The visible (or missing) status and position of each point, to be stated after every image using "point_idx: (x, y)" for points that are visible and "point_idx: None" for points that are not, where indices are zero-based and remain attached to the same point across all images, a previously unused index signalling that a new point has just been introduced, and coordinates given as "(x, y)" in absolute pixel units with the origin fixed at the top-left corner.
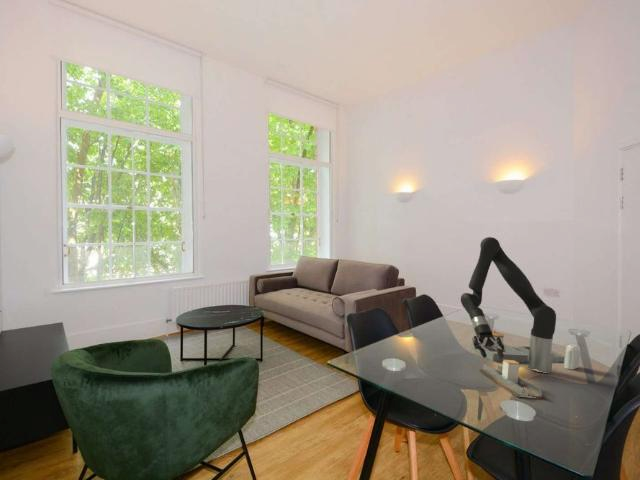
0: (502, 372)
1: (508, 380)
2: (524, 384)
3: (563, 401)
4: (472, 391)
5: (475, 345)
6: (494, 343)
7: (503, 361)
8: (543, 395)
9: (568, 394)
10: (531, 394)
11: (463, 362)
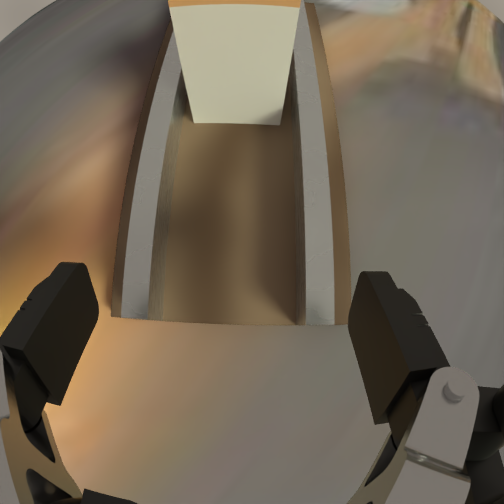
0: (285, 86)
1: (307, 29)
2: None
3: (114, 12)
4: (477, 78)
5: (494, 474)
6: (19, 488)
7: (299, 8)
8: None
9: (23, 71)
10: None
11: None
